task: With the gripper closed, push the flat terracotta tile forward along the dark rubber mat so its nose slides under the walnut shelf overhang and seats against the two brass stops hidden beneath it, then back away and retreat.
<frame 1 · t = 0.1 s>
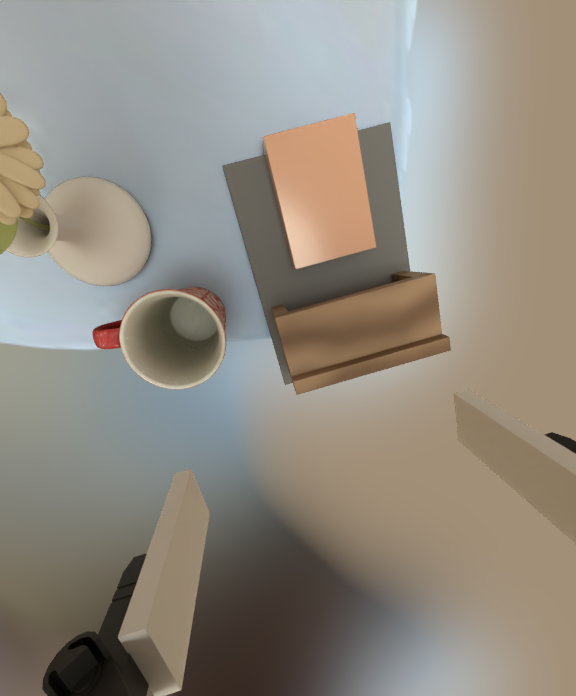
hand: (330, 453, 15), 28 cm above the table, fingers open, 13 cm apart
mug: (183, 314, 40), on the table
tile: (318, 199, 37), resting on mat
flower in vase: (106, 227, 36), on the table
alcove: (333, 273, 41), resting on mat
mat: (331, 265, 40), on the table
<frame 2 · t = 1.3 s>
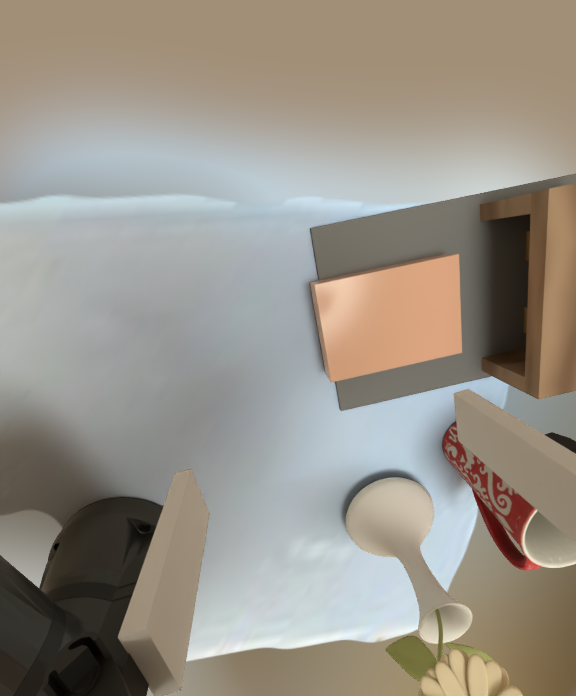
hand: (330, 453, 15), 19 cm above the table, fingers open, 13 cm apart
mug: (464, 450, 40), on the table
tile: (382, 315, 33), resting on mat
flower in vase: (378, 503, 41), on the table
alcove: (460, 297, 34), resting on mat
mat: (451, 299, 34), on the table
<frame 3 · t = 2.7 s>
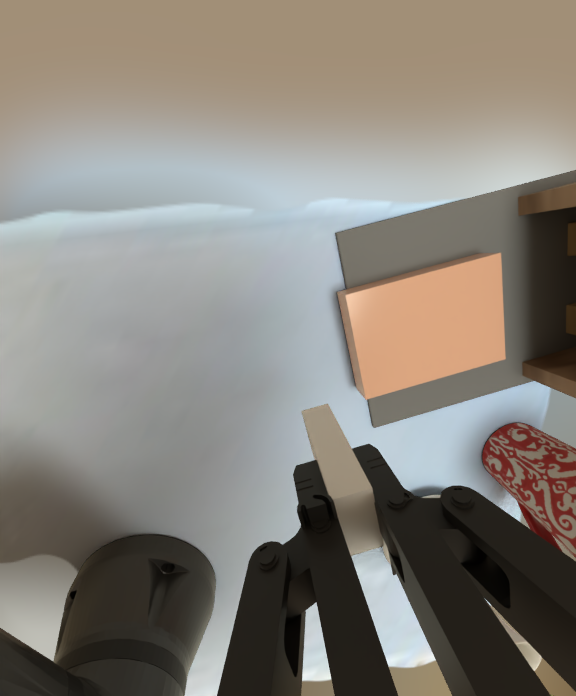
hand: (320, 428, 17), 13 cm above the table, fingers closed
mug: (504, 461, 37), on the table
tile: (415, 323, 30), resting on mat
flower in vase: (415, 522, 38), on the table
alcove: (498, 298, 31), resting on mat
mat: (489, 301, 31), on the table
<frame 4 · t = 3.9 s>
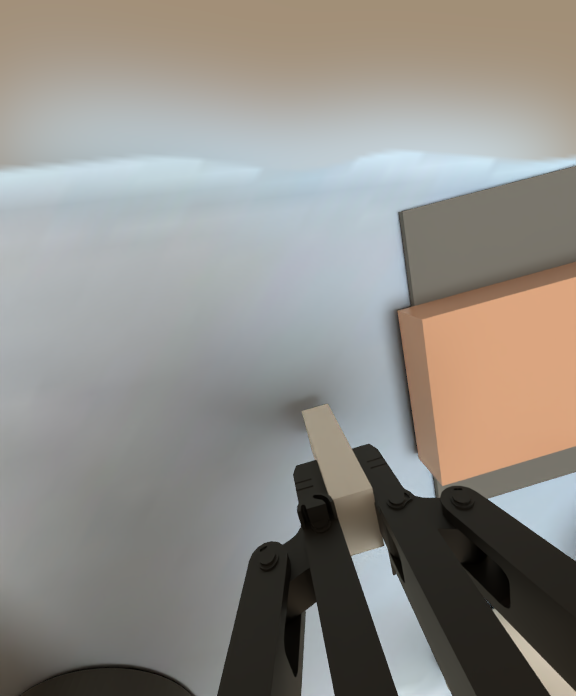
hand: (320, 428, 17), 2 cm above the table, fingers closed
tile: (517, 359, 19), resting on mat
flower in vase: (486, 630, 27), on the table
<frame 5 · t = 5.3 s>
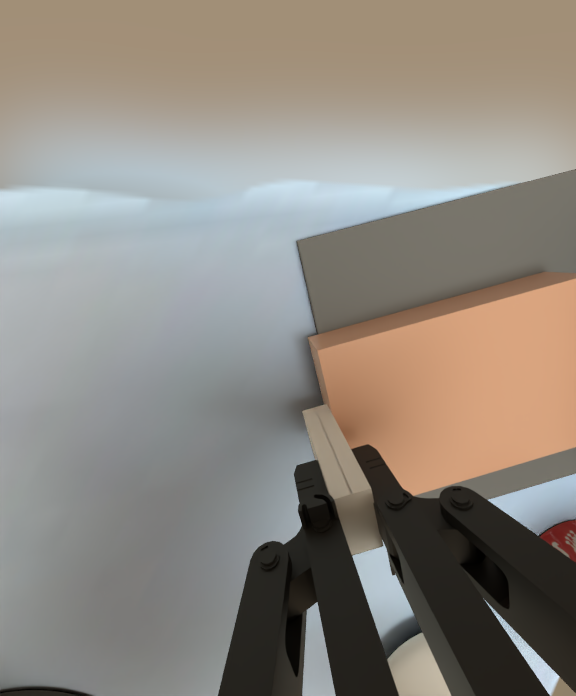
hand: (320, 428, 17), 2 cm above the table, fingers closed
mug: (554, 568, 26), on the table
tile: (437, 383, 19), resting on mat
flower in vase: (423, 650, 27), on the table
mat: (547, 349, 20), on the table
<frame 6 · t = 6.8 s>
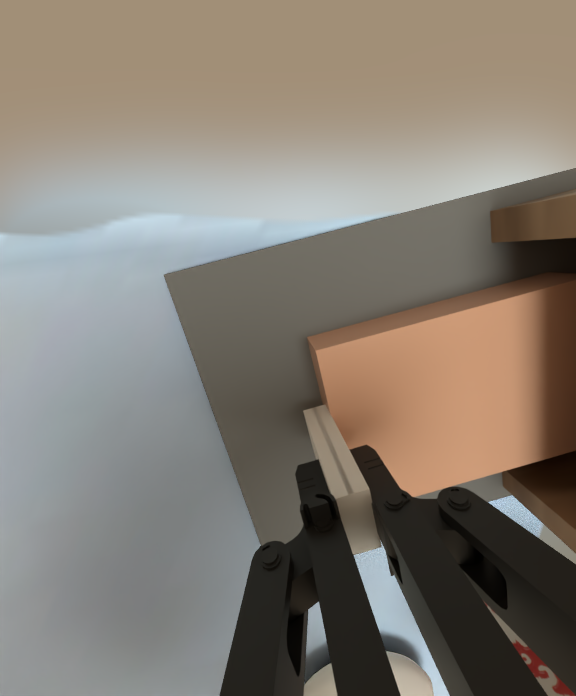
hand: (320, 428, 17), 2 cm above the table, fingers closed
mug: (478, 594, 25), on the table
tile: (437, 384, 19), resting on mat, touching gripper
flower in vase: (347, 675, 26), on the table
alcove: (461, 374, 19), resting on mat
mat: (446, 378, 19), on the table
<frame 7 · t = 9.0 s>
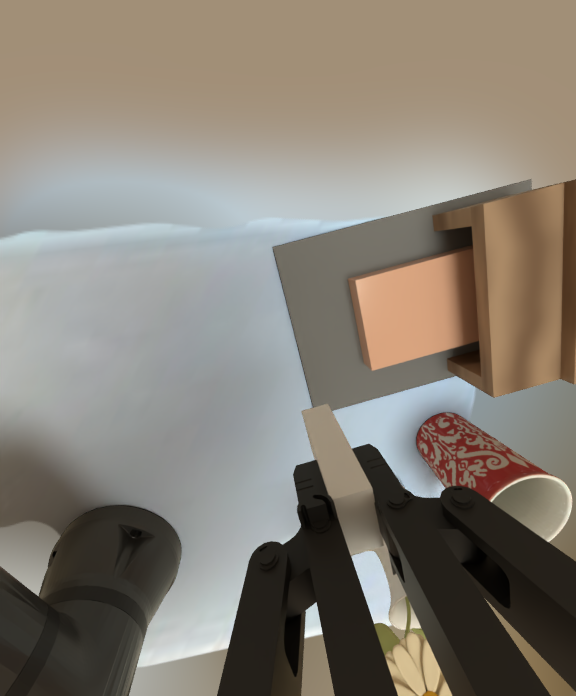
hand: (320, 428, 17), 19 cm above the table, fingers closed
mug: (438, 446, 42), on the table
tile: (415, 306, 35), resting on mat
flower in vase: (359, 500, 43), on the table
alcove: (422, 303, 36), resting on mat
mat: (413, 305, 36), on the table
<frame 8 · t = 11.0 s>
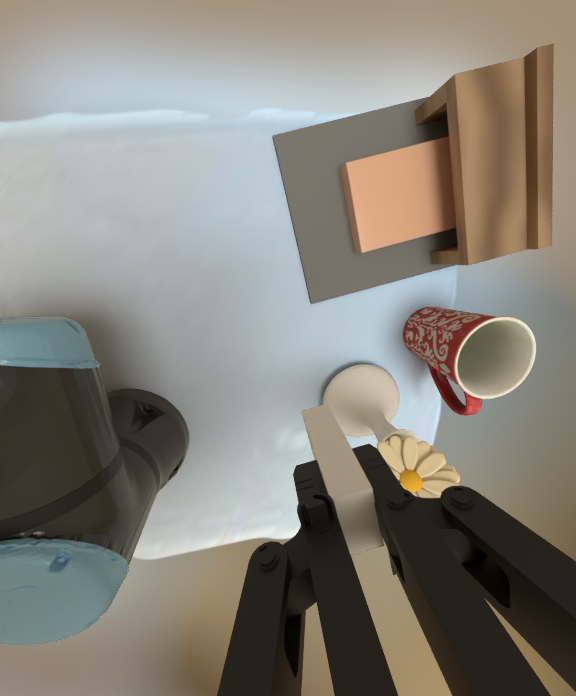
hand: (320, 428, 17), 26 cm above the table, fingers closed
mug: (423, 342, 46), on the table
tile: (400, 198, 39), resting on mat
flower in vase: (351, 394, 47), on the table
alcove: (406, 196, 40), resting on mat
mat: (399, 198, 40), on the table
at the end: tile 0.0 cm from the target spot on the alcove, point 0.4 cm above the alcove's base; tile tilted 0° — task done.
